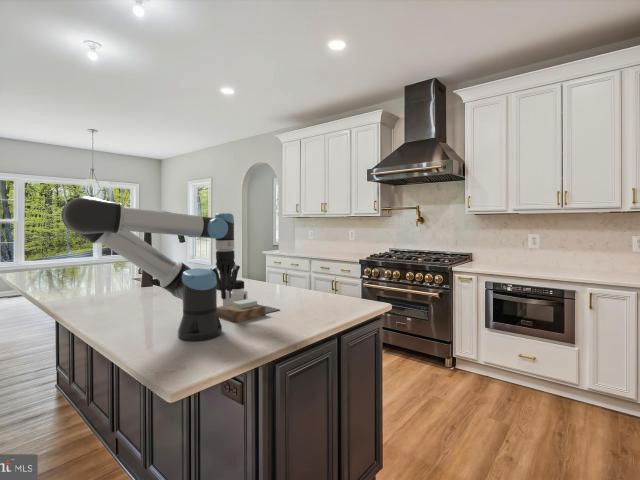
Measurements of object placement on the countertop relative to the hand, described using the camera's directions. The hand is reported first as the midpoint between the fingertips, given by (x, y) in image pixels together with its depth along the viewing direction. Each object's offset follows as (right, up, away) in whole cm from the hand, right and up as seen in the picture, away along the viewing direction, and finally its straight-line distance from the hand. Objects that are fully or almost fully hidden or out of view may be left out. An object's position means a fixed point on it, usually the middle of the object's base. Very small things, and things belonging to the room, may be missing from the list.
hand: (226, 306), depth 151 cm
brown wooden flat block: (+5, -5, +6) cm, 9 cm away
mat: (+14, -5, +15) cm, 21 cm away
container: (0, -5, +20) cm, 21 cm away
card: (+6, -1, +7) cm, 9 cm away
